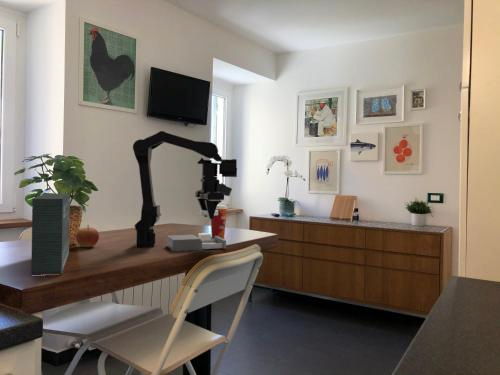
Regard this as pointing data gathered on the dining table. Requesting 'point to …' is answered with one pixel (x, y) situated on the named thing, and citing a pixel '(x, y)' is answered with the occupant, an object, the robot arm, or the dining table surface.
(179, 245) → the block
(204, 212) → the disc
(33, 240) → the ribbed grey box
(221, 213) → the paper cup
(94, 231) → the apple
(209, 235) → the riser
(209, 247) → the tray
